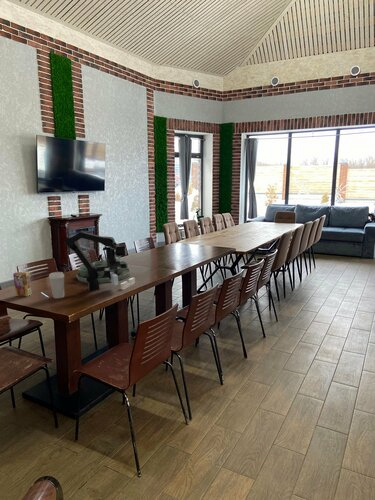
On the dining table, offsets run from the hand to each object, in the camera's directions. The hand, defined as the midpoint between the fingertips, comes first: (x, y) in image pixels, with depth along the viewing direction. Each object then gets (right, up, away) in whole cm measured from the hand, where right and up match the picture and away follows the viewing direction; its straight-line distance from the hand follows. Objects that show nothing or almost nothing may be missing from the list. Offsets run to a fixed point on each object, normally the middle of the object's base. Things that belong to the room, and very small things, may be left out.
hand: (112, 279), depth 243 cm
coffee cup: (-31, -10, -12) cm, 35 cm away
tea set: (-14, -1, +36) cm, 38 cm away
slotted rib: (+9, -5, +6) cm, 12 cm away
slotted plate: (+2, -2, -3) cm, 4 cm away
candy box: (-55, -10, -7) cm, 57 cm away
